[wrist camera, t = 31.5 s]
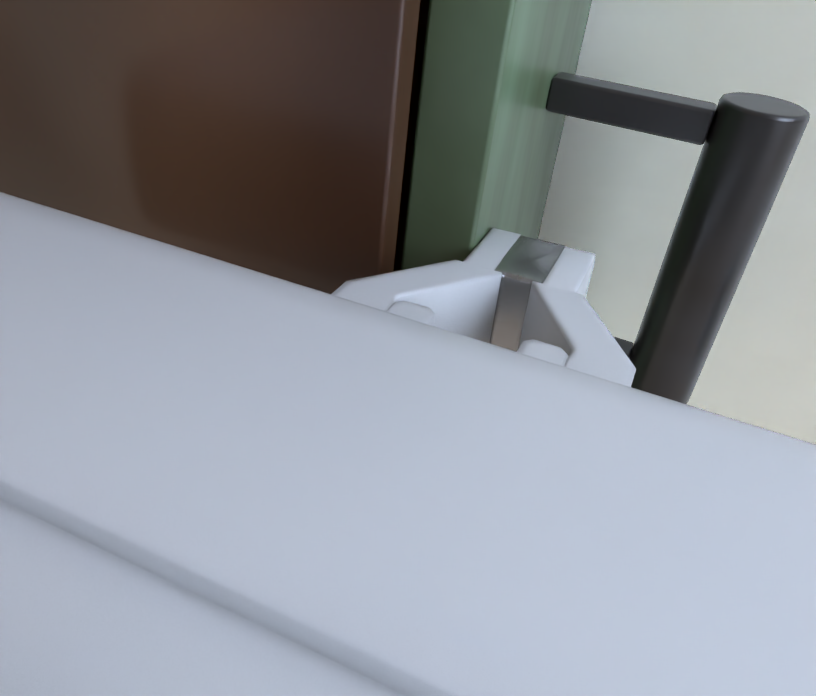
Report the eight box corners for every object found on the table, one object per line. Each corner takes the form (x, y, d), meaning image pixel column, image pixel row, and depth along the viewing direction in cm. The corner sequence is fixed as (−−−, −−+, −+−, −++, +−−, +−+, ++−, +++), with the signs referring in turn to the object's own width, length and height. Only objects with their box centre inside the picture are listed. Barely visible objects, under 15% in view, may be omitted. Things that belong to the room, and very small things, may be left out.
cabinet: (582, -218, 13) (430, -312, 7) (466, 393, 21) (353, 573, 15) (-4, -267, 17) (-396, -352, 11) (92, 262, 25) (-106, 366, 19)
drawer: (903, -148, 11) (989, -178, 6) (651, 459, 18) (613, 632, 14) (41, -233, 16) (-237, -283, 11) (120, 273, 23) (-30, 358, 19)
